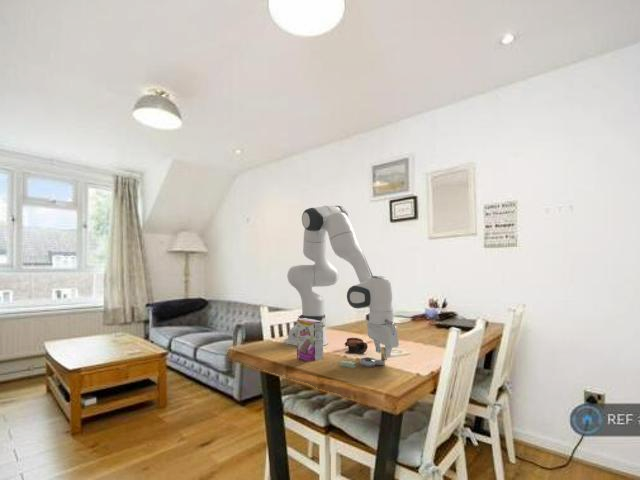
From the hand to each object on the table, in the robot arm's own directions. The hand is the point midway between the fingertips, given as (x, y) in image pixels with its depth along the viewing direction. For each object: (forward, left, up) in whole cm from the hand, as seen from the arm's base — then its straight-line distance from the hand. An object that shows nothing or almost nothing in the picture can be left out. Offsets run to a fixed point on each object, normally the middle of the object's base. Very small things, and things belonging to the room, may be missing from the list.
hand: (382, 354), depth 125 cm
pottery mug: (-16, +10, -5) cm, 20 cm away
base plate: (-4, -5, -5) cm, 8 cm away
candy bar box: (-29, -7, -5) cm, 30 cm away
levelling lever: (-2, -4, -3) cm, 5 cm away
